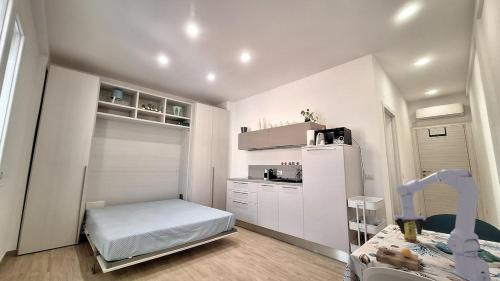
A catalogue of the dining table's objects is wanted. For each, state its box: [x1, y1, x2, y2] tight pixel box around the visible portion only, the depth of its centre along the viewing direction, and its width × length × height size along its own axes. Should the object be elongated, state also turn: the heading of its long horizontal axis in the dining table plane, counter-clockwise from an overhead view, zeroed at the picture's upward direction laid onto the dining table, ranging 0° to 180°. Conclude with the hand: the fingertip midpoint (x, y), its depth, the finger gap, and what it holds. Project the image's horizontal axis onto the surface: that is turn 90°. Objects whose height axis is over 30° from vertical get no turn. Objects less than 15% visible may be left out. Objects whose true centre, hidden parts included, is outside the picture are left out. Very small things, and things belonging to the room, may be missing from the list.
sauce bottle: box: [403, 220, 417, 243], centre depth 125 cm, size 7×6×20 cm
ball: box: [400, 247, 413, 257], centre depth 96 cm, size 4×4×4 cm
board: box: [375, 247, 419, 271], centre depth 99 cm, size 16×12×2 cm
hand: (411, 233), depth 106 cm, fingers open, 7 cm apart
